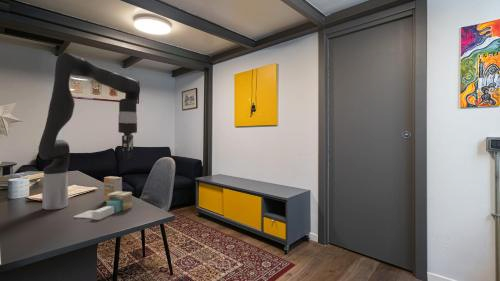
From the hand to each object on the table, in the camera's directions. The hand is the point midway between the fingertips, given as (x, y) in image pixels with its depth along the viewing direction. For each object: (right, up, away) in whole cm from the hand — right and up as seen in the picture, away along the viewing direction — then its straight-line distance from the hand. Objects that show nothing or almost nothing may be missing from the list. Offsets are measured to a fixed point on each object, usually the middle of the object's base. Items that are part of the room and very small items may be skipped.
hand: (127, 158), depth 110 cm
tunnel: (-8, -25, +9) cm, 28 cm away
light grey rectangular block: (-10, -26, -2) cm, 28 cm away
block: (-9, -25, +5) cm, 27 cm away
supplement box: (-19, -25, +21) cm, 38 cm away
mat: (-17, -25, -1) cm, 30 cm away
